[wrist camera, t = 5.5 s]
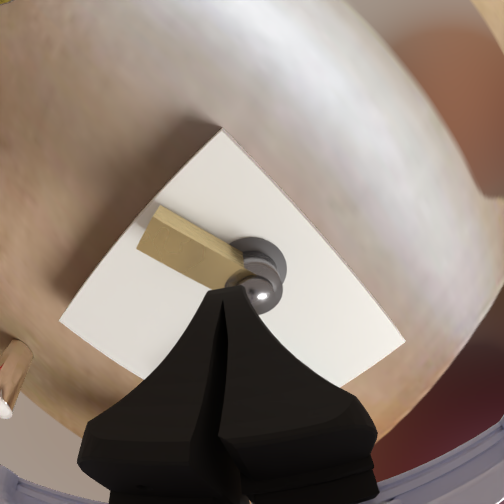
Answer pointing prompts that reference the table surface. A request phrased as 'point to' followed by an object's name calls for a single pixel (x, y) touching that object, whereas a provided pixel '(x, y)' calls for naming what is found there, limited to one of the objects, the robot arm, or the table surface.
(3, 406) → the milkshake
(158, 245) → the lever handle
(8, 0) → the canned food
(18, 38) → the table surface
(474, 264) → the table surface
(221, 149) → the box
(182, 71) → the table surface
